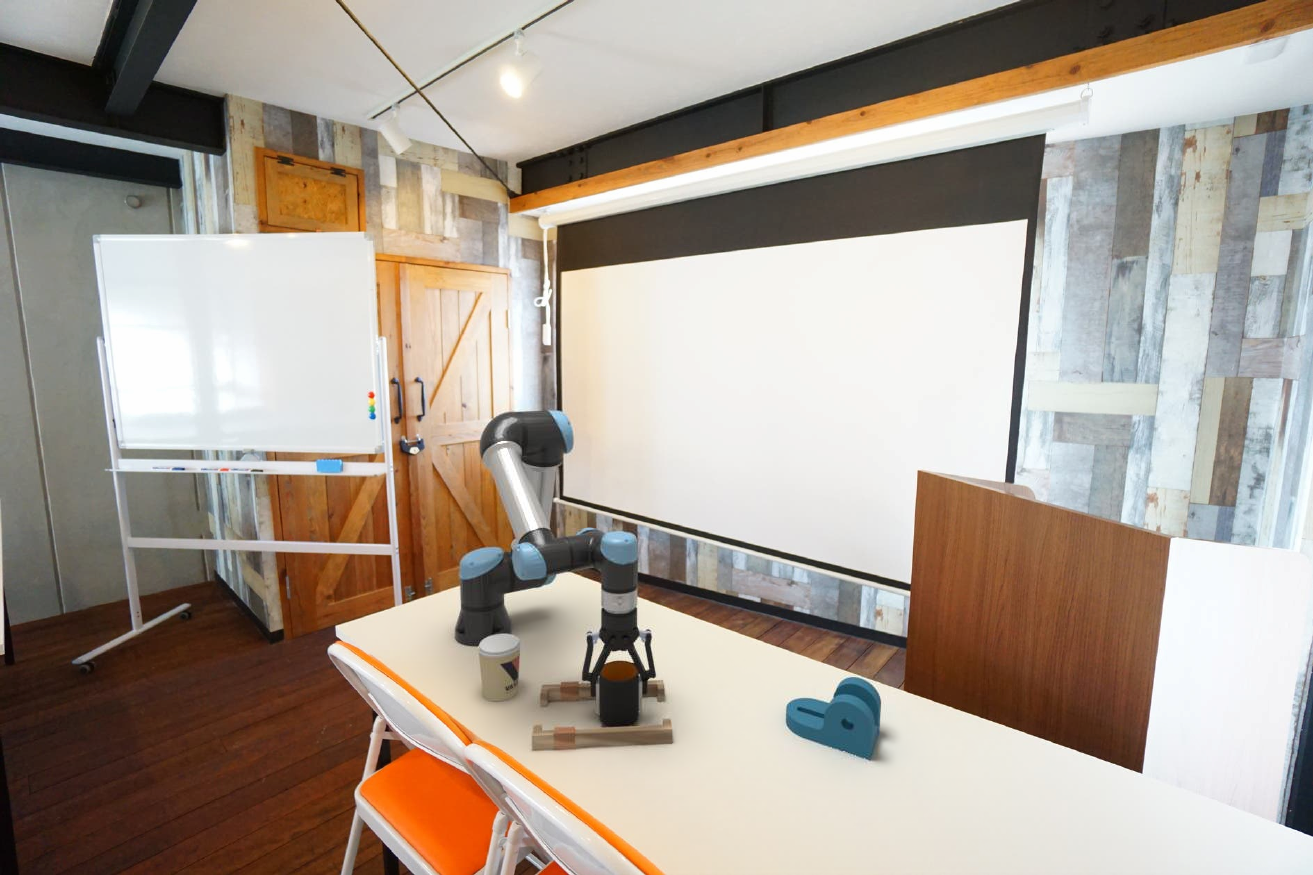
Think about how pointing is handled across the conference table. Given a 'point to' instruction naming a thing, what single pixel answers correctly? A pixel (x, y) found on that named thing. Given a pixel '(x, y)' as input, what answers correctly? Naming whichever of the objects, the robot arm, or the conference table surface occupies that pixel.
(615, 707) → the mug
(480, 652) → the coffee cup
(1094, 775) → the conference table surface
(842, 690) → the camera mount
